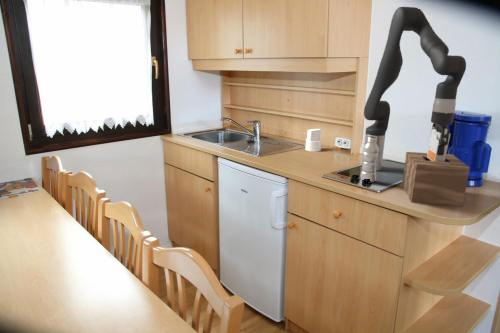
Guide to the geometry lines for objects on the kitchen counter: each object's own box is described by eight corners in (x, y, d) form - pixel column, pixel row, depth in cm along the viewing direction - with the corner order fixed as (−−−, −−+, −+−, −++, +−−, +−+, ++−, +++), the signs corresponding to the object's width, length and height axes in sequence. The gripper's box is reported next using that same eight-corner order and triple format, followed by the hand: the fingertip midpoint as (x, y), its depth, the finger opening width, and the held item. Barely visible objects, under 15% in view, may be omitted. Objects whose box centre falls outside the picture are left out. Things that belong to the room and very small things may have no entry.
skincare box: (426, 157, 151) (431, 128, 146) (436, 157, 151) (442, 128, 146) (434, 163, 146) (440, 134, 141) (444, 163, 146) (451, 133, 141)
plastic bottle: (376, 184, 164) (381, 139, 159) (360, 183, 165) (364, 138, 160) (374, 180, 170) (379, 136, 165) (359, 178, 172) (363, 135, 166)
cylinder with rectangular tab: (313, 152, 219) (315, 131, 216) (302, 149, 226) (303, 129, 223) (323, 150, 225) (325, 130, 222) (312, 147, 232) (313, 127, 228)
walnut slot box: (401, 185, 163) (406, 151, 159) (446, 189, 160) (452, 154, 156) (411, 202, 145) (416, 164, 140) (462, 206, 141) (469, 167, 137)
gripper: (428, 108, 150) (422, 148, 154) (437, 112, 137) (431, 156, 141) (448, 109, 149) (442, 149, 153) (460, 113, 135) (453, 157, 140)
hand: (436, 152), depth 147 cm, fingers open, 8 cm apart
